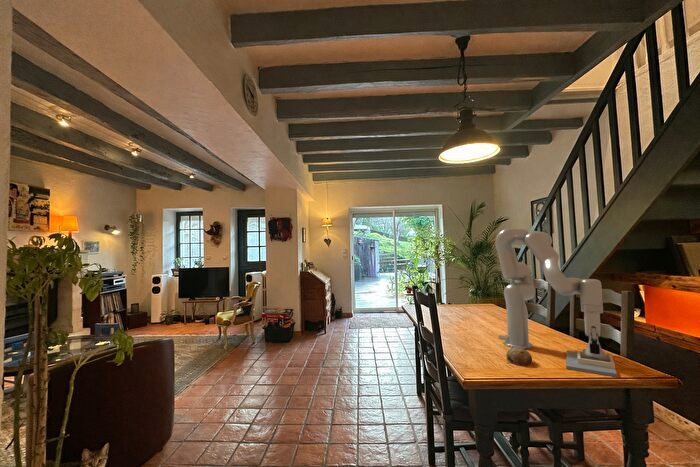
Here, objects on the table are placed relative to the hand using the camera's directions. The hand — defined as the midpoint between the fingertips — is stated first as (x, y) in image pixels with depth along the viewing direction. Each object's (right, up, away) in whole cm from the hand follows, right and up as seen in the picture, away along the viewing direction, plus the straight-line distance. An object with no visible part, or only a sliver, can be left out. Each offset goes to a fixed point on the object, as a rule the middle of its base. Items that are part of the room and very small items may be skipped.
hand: (594, 351), depth 134 cm
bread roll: (-29, -7, +5) cm, 30 cm away
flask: (0, -2, 0) cm, 2 cm away
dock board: (-2, -6, +1) cm, 6 cm away
